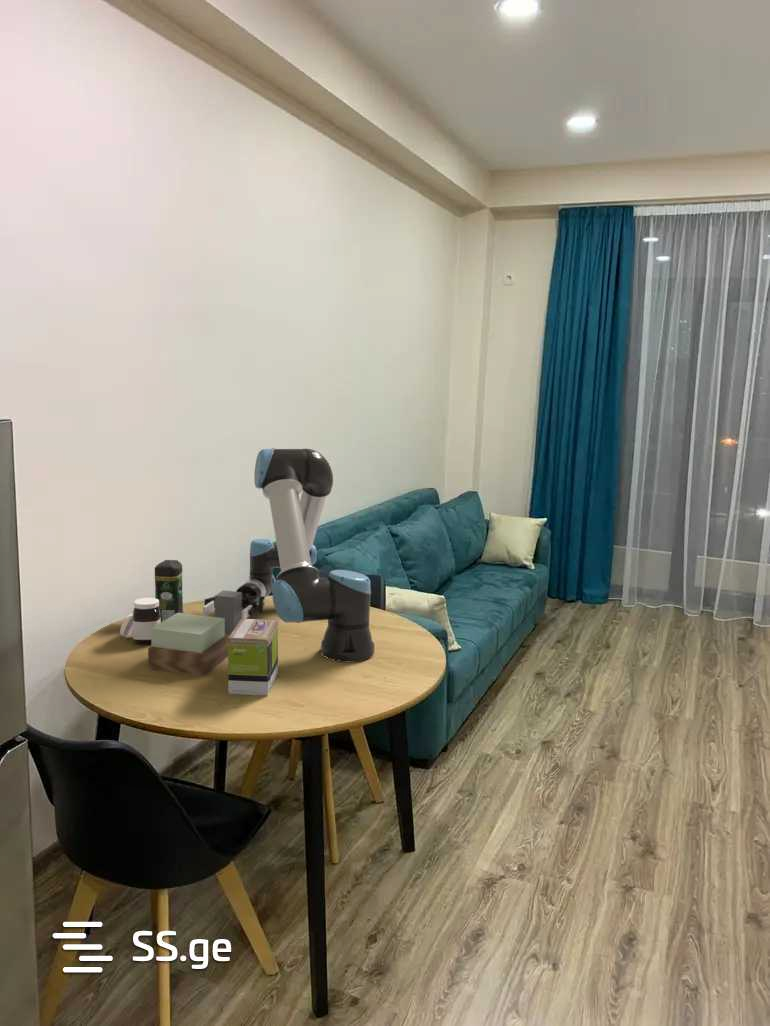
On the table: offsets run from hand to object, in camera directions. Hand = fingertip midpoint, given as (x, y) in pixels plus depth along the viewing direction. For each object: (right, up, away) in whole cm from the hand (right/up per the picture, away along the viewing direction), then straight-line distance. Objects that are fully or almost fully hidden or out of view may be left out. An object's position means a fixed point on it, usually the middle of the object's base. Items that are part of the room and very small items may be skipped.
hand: (223, 613), depth 222 cm
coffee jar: (-20, -4, +15) cm, 25 cm away
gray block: (0, -6, +5) cm, 8 cm away
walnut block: (-5, -11, -19) cm, 22 cm away
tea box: (+14, -14, -32) cm, 37 cm away
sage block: (-5, -5, -20) cm, 21 cm away
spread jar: (-23, -7, -4) cm, 24 cm away
